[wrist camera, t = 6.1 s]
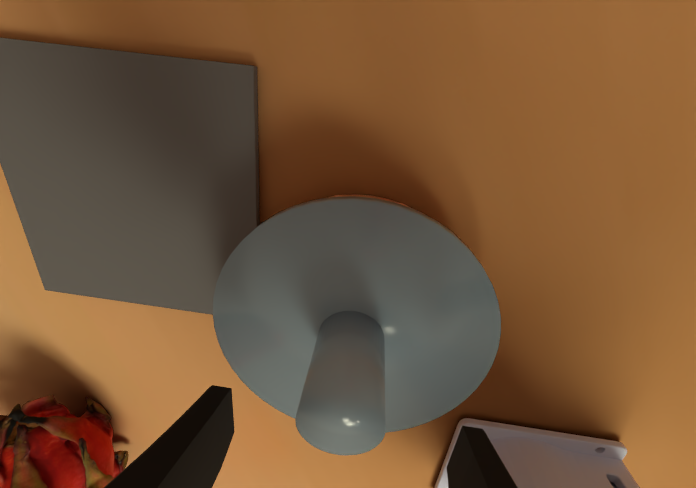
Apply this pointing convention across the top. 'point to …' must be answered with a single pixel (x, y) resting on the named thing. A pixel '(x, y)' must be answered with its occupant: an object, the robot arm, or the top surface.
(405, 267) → the lid
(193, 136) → the mat
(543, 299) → the top surface
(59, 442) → the dragon fruit
